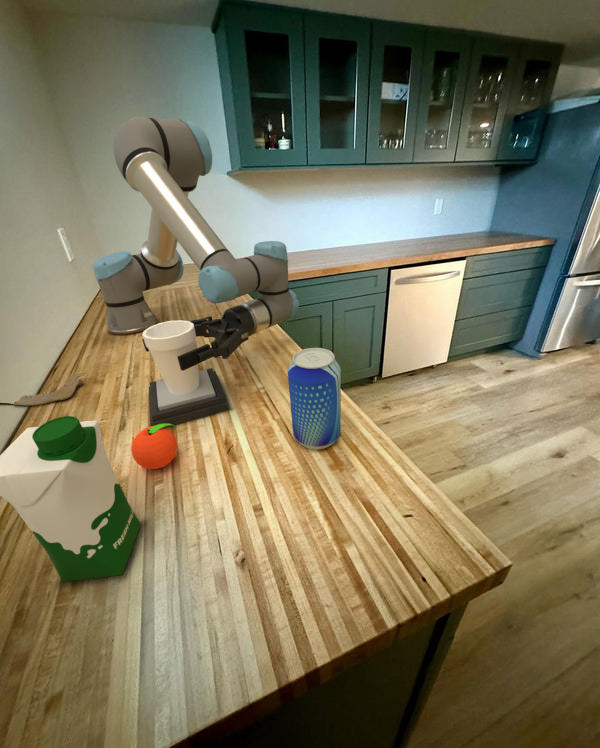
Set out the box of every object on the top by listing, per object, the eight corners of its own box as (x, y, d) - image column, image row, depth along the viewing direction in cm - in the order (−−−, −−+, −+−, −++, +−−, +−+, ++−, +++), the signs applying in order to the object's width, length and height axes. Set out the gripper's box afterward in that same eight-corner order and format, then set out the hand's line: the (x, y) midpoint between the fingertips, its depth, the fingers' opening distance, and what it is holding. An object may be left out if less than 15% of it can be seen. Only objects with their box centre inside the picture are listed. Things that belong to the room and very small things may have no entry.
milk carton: (127, 582, 40) (56, 456, 30) (49, 591, 39) (-51, 467, 29) (150, 517, 47) (99, 400, 37) (84, 525, 47) (15, 408, 37)
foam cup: (193, 400, 66) (177, 340, 59) (151, 397, 68) (132, 338, 61) (213, 376, 74) (201, 320, 67) (175, 374, 76) (160, 319, 69)
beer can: (345, 425, 62) (345, 347, 54) (334, 457, 55) (333, 373, 47) (302, 418, 65) (296, 343, 57) (286, 447, 58) (278, 366, 50)
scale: (150, 393, 76) (147, 381, 75) (216, 377, 81) (214, 366, 80) (152, 431, 64) (148, 418, 63) (229, 409, 69) (227, 397, 67)
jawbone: (88, 396, 78) (84, 389, 76) (-22, 428, 70) (-28, 421, 69) (87, 377, 84) (84, 370, 83) (-13, 404, 76) (-18, 397, 75)
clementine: (172, 440, 62) (162, 408, 58) (195, 455, 58) (185, 423, 54) (130, 466, 56) (116, 433, 53) (152, 485, 52) (138, 451, 49)
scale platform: (158, 387, 74) (155, 381, 74) (207, 375, 78) (206, 369, 77) (160, 414, 66) (157, 407, 65) (216, 399, 69) (214, 392, 68)
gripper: (285, 348, 73) (202, 391, 59) (216, 324, 87) (137, 354, 74) (282, 315, 69) (192, 353, 56) (210, 296, 84) (126, 322, 70)
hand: (161, 354), depth 65 cm, fingers open, 13 cm apart
